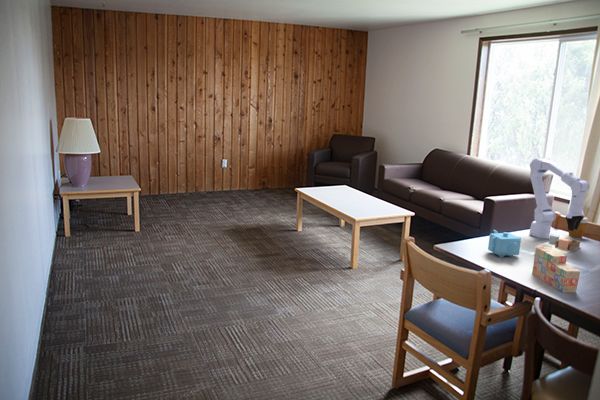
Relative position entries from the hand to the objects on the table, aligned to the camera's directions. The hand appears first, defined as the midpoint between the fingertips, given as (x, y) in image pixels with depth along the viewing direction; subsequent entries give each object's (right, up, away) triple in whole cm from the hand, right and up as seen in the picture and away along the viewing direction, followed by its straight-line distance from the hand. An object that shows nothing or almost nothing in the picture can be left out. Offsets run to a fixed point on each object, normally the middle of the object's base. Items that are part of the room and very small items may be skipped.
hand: (572, 229), depth 244 cm
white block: (-6, -7, +7) cm, 12 cm away
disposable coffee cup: (+13, -6, +21) cm, 25 cm away
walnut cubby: (-3, -9, 0) cm, 9 cm away
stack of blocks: (-33, -20, -44) cm, 58 cm away
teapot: (-41, -12, -11) cm, 44 cm away
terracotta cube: (-5, -9, -2) cm, 11 cm away
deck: (-8, -10, 0) cm, 13 cm away
